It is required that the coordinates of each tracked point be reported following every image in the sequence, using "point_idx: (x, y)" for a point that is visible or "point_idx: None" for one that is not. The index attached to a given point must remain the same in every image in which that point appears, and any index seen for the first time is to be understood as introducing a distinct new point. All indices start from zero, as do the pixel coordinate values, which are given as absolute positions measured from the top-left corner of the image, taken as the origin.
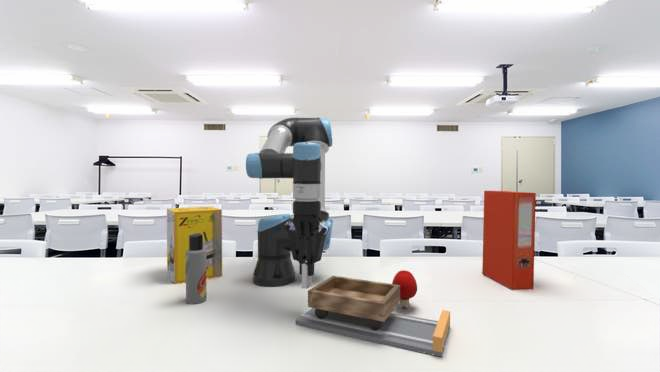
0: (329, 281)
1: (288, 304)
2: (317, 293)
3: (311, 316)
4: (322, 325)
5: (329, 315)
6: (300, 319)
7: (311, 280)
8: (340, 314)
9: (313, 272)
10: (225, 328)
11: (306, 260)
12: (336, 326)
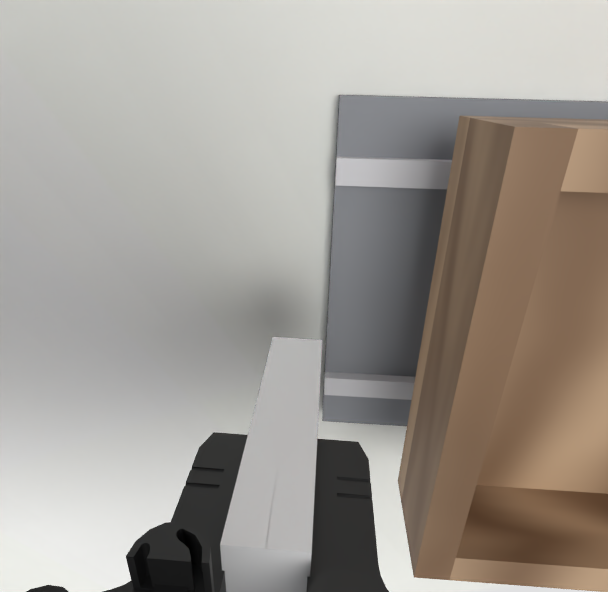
0: (515, 332)
1: (132, 212)
2: (491, 577)
3: (388, 387)
4: None
5: None
6: (340, 408)
7: (320, 373)
8: None
9: (367, 482)
10: (99, 508)
11: (212, 578)
12: None
